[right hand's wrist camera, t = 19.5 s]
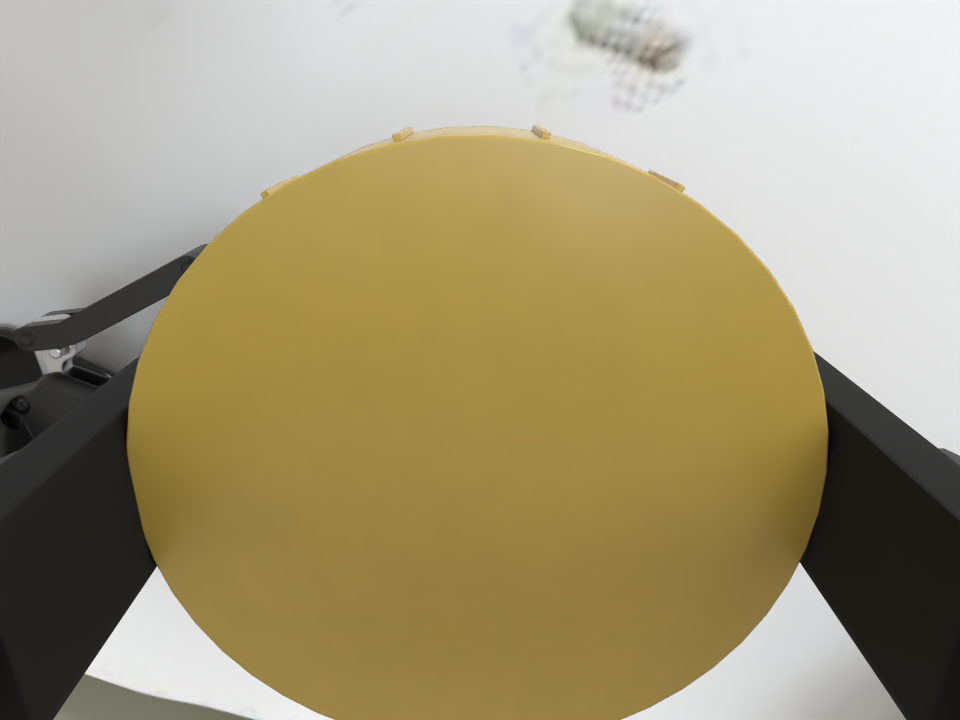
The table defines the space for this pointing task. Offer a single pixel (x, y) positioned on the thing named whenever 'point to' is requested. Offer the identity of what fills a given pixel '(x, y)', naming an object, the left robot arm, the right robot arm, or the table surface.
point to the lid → (477, 434)
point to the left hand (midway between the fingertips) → (406, 375)
